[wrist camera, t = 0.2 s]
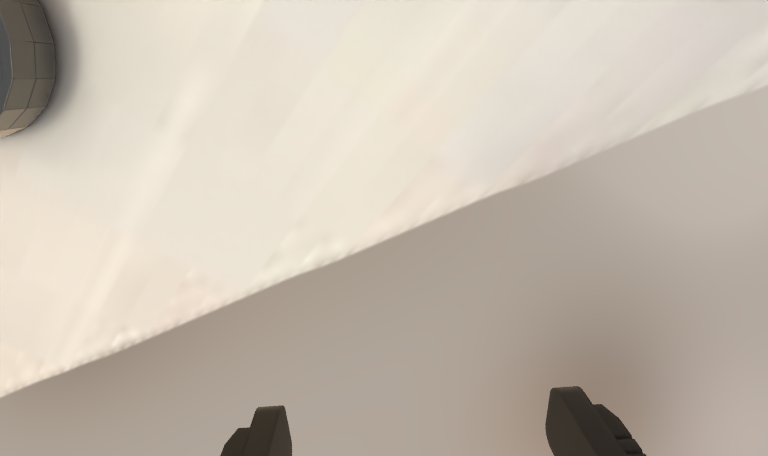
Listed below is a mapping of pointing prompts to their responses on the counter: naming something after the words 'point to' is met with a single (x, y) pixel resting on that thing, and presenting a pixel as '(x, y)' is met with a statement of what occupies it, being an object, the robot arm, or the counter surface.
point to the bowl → (24, 64)
